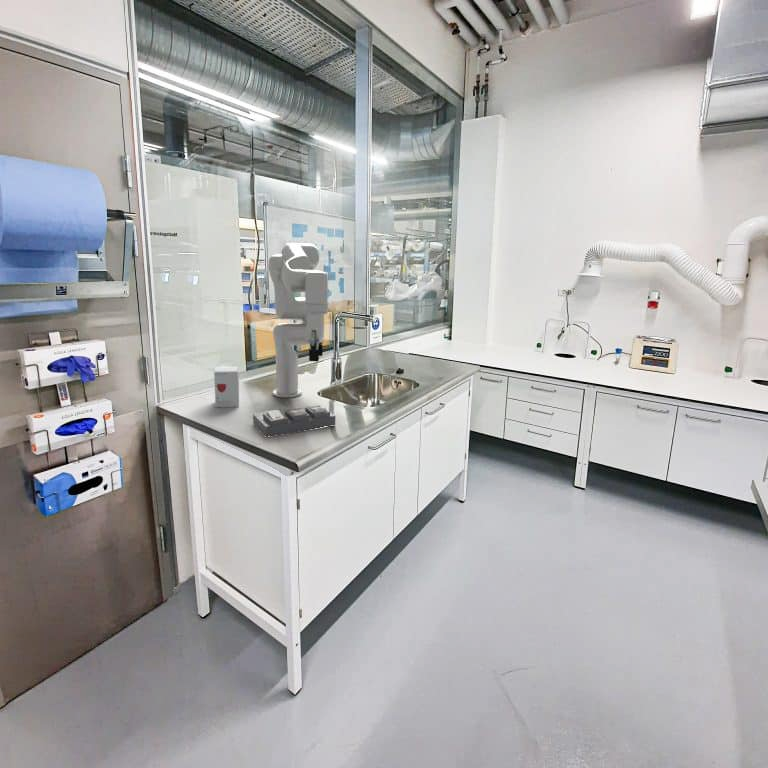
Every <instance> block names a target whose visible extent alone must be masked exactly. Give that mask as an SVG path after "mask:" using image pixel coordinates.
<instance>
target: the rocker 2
mask: <svg viewBox="0 0 768 768" xmlns="http://www.w3.org/2000/svg"><path fill="white" fill-rule="evenodd" d="M309 409H310V410H311V411H313V412H314V413H318V412H325V411H326V410H327V408H326V407H324V406H322V407H313V408H309Z"/></svg>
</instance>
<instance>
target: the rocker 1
mask: <svg viewBox="0 0 768 768" xmlns="http://www.w3.org/2000/svg"><path fill="white" fill-rule="evenodd" d="M279 410H280V409H275V410H274V409H273V410H267V411H266V412H267V415H268V416H269V418H271V419H272V420H277V419H284V417H283V415H282V414H281V413H280V411H279Z"/></svg>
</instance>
